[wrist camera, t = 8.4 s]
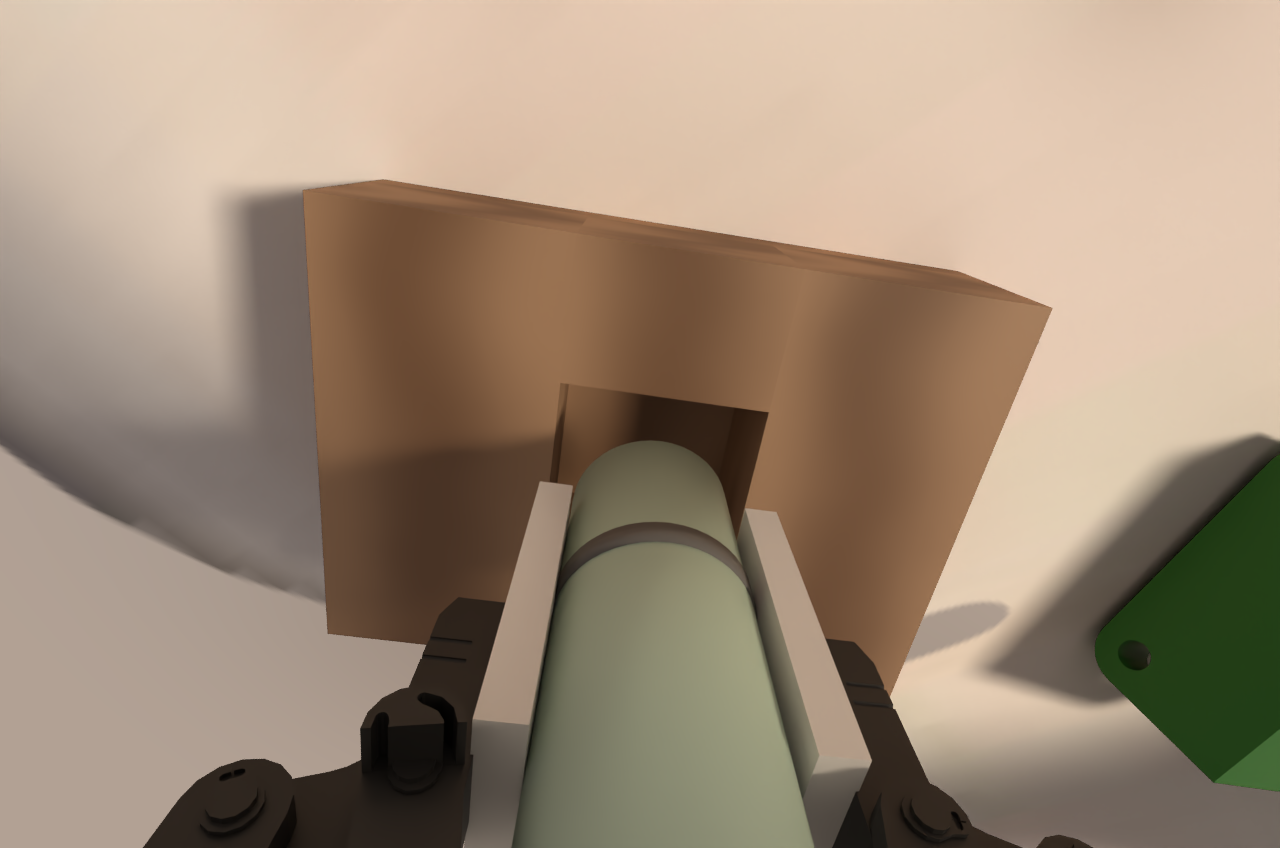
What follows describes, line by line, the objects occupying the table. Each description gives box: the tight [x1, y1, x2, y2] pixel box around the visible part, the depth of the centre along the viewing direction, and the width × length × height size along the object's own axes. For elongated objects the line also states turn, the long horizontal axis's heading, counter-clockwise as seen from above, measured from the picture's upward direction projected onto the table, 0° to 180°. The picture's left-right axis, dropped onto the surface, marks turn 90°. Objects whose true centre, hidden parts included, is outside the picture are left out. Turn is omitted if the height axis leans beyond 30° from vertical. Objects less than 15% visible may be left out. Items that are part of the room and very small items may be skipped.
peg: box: [511, 440, 815, 848], centre depth 11 cm, size 4×4×12 cm
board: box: [303, 180, 1052, 697], centre depth 20 cm, size 18×13×5 cm
